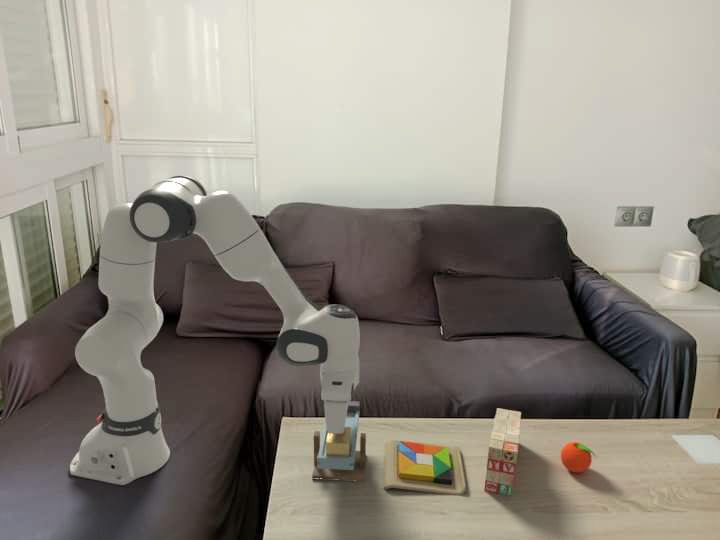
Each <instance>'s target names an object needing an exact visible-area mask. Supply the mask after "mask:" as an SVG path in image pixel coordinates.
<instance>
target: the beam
mask: <svg viewBox="0 0 720 540" xmlns="http://www.w3.org/2000/svg"><path fill="white" fill-rule="evenodd" d="M360 404H361V403H360V401H355V400H354V401H353V400H352V401H349V404H348V409H347V415H346V423H345V427H351V450H350V457H339V456H326V440H327V435H328V431H327V429H326V421H325V420H324V425H323V429H322V434H321V438H320V449H319V454H318V455H317V468H319V469H339V470H354V461H355V451H357V439H358V430H359V422H360V421H359V420H360Z"/></svg>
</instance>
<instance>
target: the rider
mask: <svg viewBox="0 0 720 540" xmlns="http://www.w3.org/2000/svg"><path fill="white" fill-rule="evenodd" d="M350 450H351V427H345V429H344V432H343V433H342V434H332V433H328V435H327V440H326V456H339V457H350Z"/></svg>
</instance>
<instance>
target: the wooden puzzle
mask: <svg viewBox="0 0 720 540" xmlns="http://www.w3.org/2000/svg"><path fill="white" fill-rule="evenodd" d="M384 446H385V455H384V454H383V473H384V477H382V479H383V482H382V484H383V485H382V487H384V488H385V490H387V489H391V488H392V489H400V490H408V491H416V492H426V493H431V494H432V493H433V494H440V495H451V496H452V495H455V496H456V495H457V496H459V495H460V496H462V495H463V494H465V492H466V489H467V484H466V478H465V473H464V466H463V460H462V456H461V455H462V454H461V449H460V445H458V444H454V445H451V446H449V445H441V444H432V443H423V442H415V441H408V440H400V439H389V440H387V441H386V442H385V443H384ZM384 456H385V457H384ZM384 488H383V489H384Z"/></svg>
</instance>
